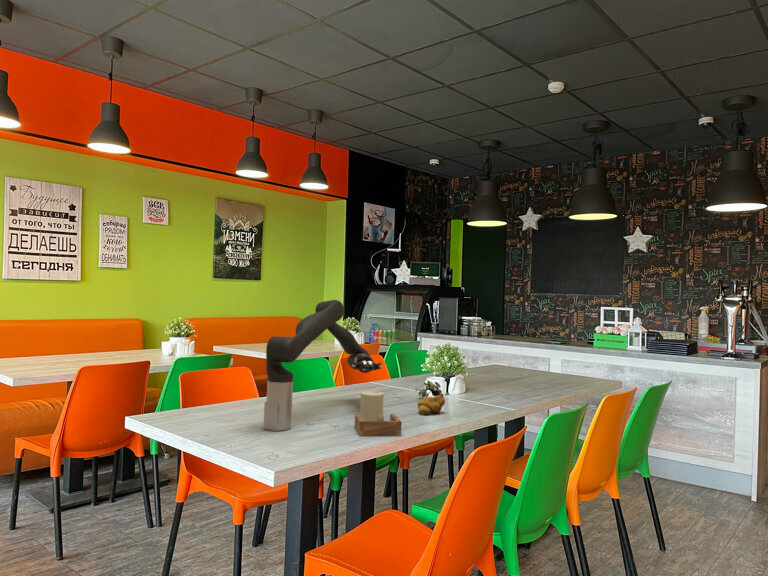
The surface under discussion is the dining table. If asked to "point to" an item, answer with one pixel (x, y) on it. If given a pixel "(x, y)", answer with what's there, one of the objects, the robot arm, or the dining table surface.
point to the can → (371, 405)
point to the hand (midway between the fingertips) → (370, 368)
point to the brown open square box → (378, 426)
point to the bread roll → (431, 405)
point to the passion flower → (430, 389)
